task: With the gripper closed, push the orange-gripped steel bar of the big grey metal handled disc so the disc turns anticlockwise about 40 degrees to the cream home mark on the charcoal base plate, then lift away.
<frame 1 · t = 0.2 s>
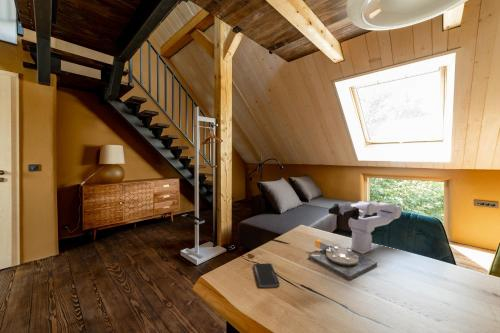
hand: (336, 213, 95), 21 cm above the table, tool horizontal, fingers open, 7 cm apart
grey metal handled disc: (334, 250, 97), point 3 cm above the table, hinge at 0.0°
base plate: (341, 261, 94), on the table
phone: (265, 276, 83), on the table
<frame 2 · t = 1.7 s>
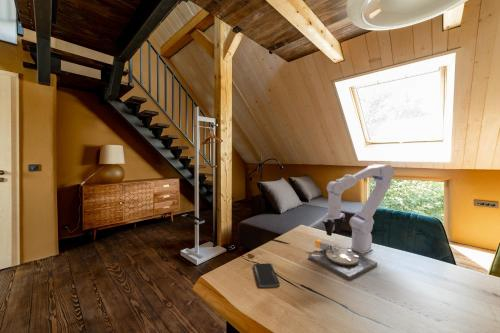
hand: (333, 233, 104), 8 cm above the table, tool pointing down, fingers open, 6 cm apart
nothing on the table moved.
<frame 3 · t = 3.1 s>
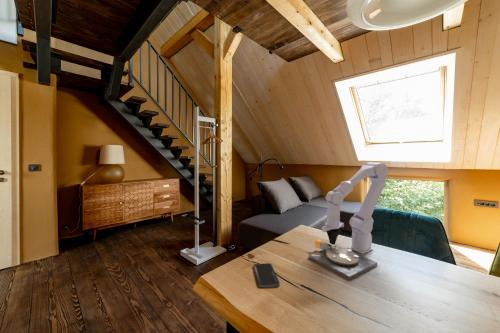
hand: (332, 243, 104), 4 cm above the table, tool pointing down, fingers closed
nothing on the table moved.
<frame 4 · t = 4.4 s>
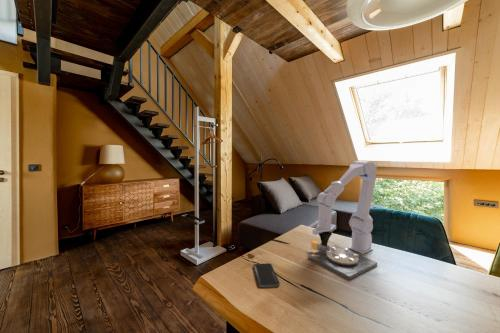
hand: (324, 246, 101), 4 cm above the table, tool pointing down, fingers closed, pressing on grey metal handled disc
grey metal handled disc: (333, 251, 96), point 3 cm above the table, hinge at 14.5°, touching gripper
everything else where it was.
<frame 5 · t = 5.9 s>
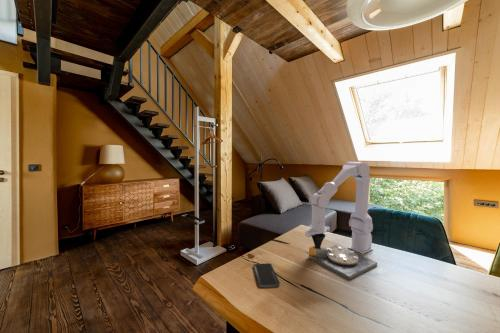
hand: (317, 248, 98), 4 cm above the table, tool pointing down, fingers closed
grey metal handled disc: (332, 253, 95), point 3 cm above the table, hinge at 44.0°, touching gripper
everything else where it was.
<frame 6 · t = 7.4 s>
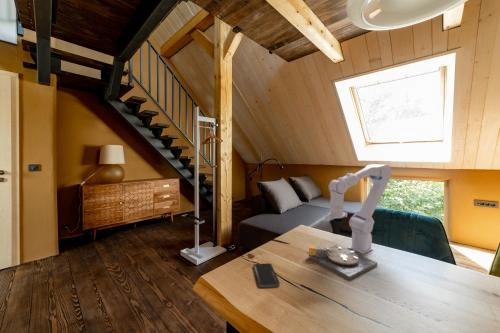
hand: (335, 233, 102), 9 cm above the table, tool pointing down, fingers closed
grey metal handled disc: (332, 253, 95), point 3 cm above the table, hinge at 44.2°
everything else where it was.
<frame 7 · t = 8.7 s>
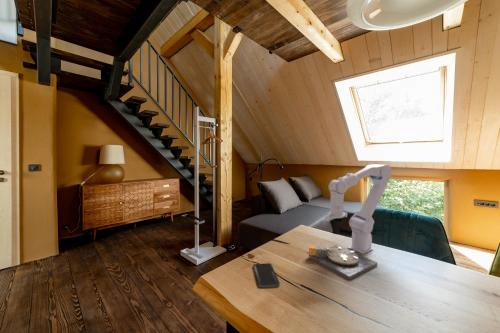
hand: (335, 233, 102), 9 cm above the table, tool pointing down, fingers closed
nothing on the table moved.
at the end: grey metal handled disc at +44° (first picture: +0°) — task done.
